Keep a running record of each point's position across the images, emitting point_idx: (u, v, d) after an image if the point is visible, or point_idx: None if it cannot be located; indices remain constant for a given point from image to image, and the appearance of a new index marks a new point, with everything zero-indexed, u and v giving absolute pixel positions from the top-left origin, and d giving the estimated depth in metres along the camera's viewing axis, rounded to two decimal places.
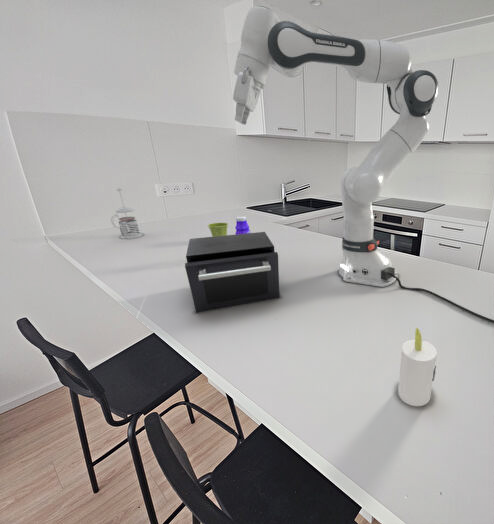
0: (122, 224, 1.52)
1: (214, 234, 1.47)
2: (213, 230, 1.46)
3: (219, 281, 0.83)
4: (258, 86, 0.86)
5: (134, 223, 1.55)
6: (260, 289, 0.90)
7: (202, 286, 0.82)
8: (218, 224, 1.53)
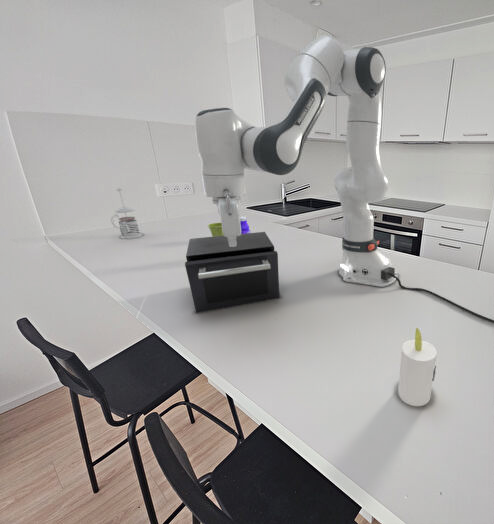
0: (122, 224, 1.52)
1: (214, 234, 1.47)
2: (213, 230, 1.46)
3: (219, 280, 0.83)
4: (239, 199, 0.68)
5: (134, 223, 1.55)
6: (260, 289, 0.90)
7: (202, 285, 0.82)
8: (218, 224, 1.53)
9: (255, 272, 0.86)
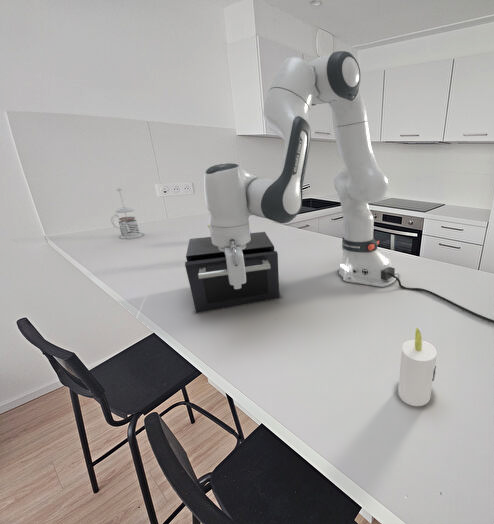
0: (122, 224, 1.52)
1: None
2: None
3: (219, 280, 0.83)
4: (244, 245, 0.72)
5: (134, 223, 1.55)
6: (260, 289, 0.90)
7: (202, 285, 0.82)
8: None
9: (255, 272, 0.86)
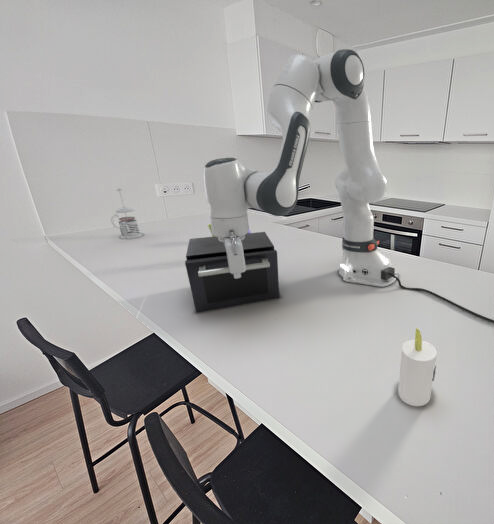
0: (122, 224, 1.52)
1: None
2: None
3: (219, 279, 0.83)
4: (243, 236, 0.75)
5: (134, 223, 1.55)
6: (260, 288, 0.90)
7: (202, 284, 0.82)
8: None
9: (255, 271, 0.87)
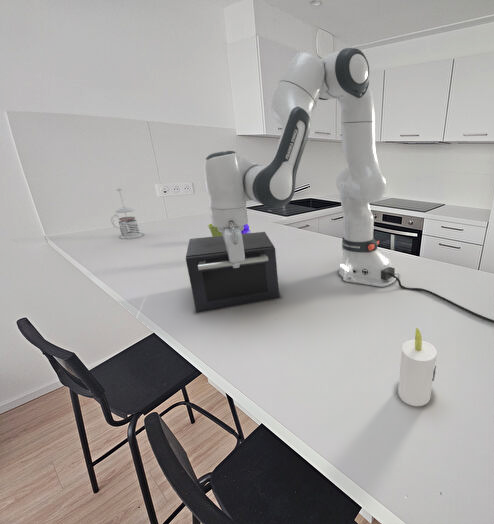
0: (122, 224, 1.52)
1: (214, 234, 1.47)
2: (213, 230, 1.46)
3: (218, 276, 0.85)
4: (242, 227, 0.78)
5: (134, 223, 1.55)
6: (259, 286, 0.91)
7: (202, 281, 0.84)
8: None
9: (254, 267, 0.88)
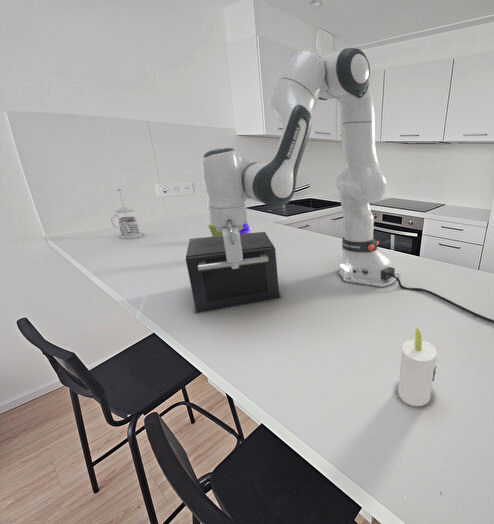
0: (122, 224, 1.52)
1: (214, 234, 1.47)
2: (213, 230, 1.46)
3: (218, 276, 0.85)
4: (241, 227, 0.76)
5: (134, 223, 1.55)
6: (259, 286, 0.91)
7: (202, 281, 0.84)
8: None
9: (254, 268, 0.88)
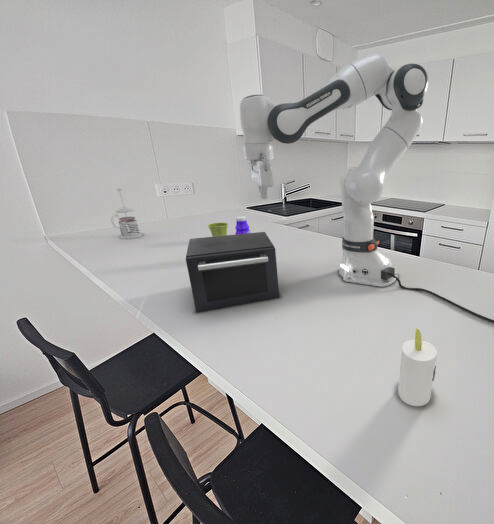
0: (122, 224, 1.52)
1: (214, 234, 1.47)
2: (213, 230, 1.46)
3: (218, 276, 0.85)
4: None
5: (134, 223, 1.55)
6: (259, 286, 0.91)
7: (202, 281, 0.84)
8: (218, 224, 1.53)
9: (254, 268, 0.88)
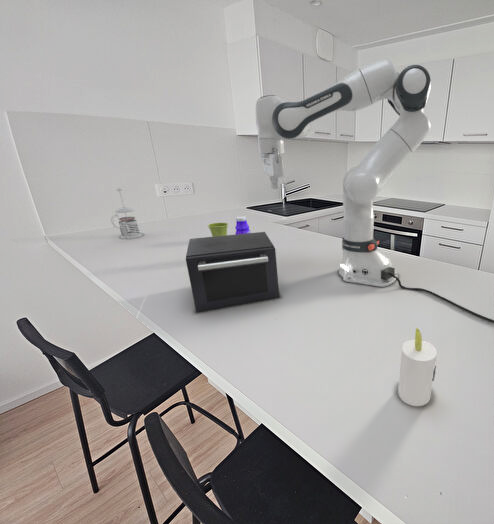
0: (122, 224, 1.52)
1: (214, 234, 1.47)
2: (213, 230, 1.46)
3: (218, 276, 0.85)
4: None
5: (134, 223, 1.55)
6: (259, 286, 0.91)
7: (202, 281, 0.84)
8: (218, 224, 1.53)
9: (254, 268, 0.88)
